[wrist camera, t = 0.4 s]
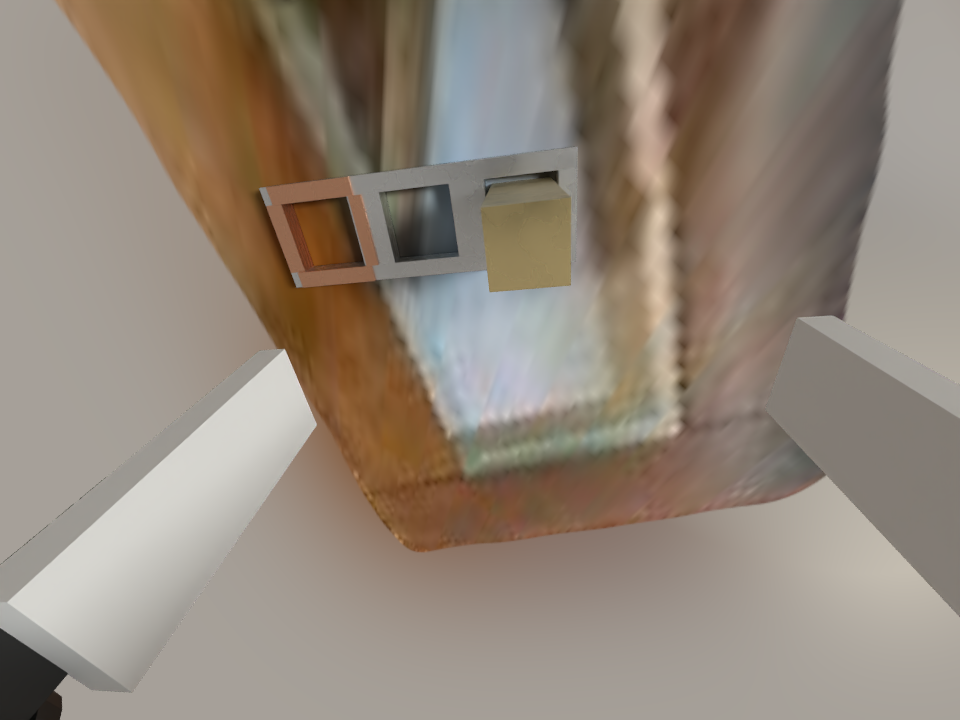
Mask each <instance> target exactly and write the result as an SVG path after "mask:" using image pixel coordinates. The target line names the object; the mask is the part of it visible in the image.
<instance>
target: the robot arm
mask: <svg viewBox="0 0 960 720" xmlns="http://www.w3.org/2000/svg"><path fill="white" fill-rule="evenodd" d="M765 410H766V411H767V412H768V413H769V414H770V416H771V417H772V418H773V419H774V420H775V421H776V422H777V423H778V424H779V425H780V426H781V427H782V428H783V429H784V430H785V431H786V433H787V434H788V435H789V436H790V437H791V438H792V439H793V440H794V441H795V442H796V443H797V444H798V445H799V446H800V447H801V449H802V450H803V451H804V452H805V453H806V454H807V455H808V456H809V457H810V458H811V459H812V460H813V461H814V462H815V463H816V464H817V466H818V467H819V468H820V469H821V470H822V471H823V472H824V473H825V474H826V475H827V476H828V477H829V478H830V479H831V480H832V481H833V483H834V484H835V485H836V486H838V488H839V489H840V490H841V491H842V492H843V493H844V494H845V495H846V496H847V497H848V498H849V499H850V501H851V502H852V503H853V504H854V505H855V506H856V507H857V508H858V509H859V510H860V511H861V512H862V513H863V514H864V515H865V517H866V518H867V519H868V520H869V521H870V522H871V523H872V524H873V525H874V526H875V527H876V528H877V529H878V530H879V531H880V533H881V534H882V535H883V536H884V537H885V538H886V539H887V540H888V541H889V542H890V543H891V544H892V545H893V546H894V547H895V548H896V550H898V552H900V553H901V555H902V556H903V557H904V558H905V559H906V560H907V561H908V562H909V563H910V564H911V566H912V567H913V568H914V569H915V570H916V571H917V572H918V573H919V574H920V575H921V576H922V577H923V578H924V579H925V580H926V582H927V583H928V584H929V585H930V586H931V587H932V588H933V589H934V590H935V591H936V592H937V593H938V594H939V595H940V596H941V597H942V598H943V600H944V601H945V602H946V603H947V604H948V605H949V606H950V607H951V608H952V609H953V610H954V611H955V612H956V613H957V614H958V615H959V617H960V385H959V384H957V383H955V382H954V381H952V380H950V379H948V378H946V377H945V376H943V375H941V374H939V373H937V372H935V371H934V370H931V369H930V368H928V367H926V366H924V365H923V364H921V363H919V362H917V361H915V360H913V359H912V358H909V357H908V356H906V355H904V354H902V353H901V352H899V351H897V350H895V349H893V348H891V347H889V346H887V345H886V344H884V343H882V342H880V341H878V340H877V339H875V338H873V337H871V336H869V335H867V334H866V333H864V332H862V331H860V330H858V329H856V328H855V327H853V326H851V325H849V324H847V323H846V322H844V321H842V320H840V319H838V318H836V317H834V316H817V317H801V318H797V320H796V323H795V326H794V328H793V331H792V334H791V337H790V340H789V343H788V345H787V348H786V351H785V354H784V357H783V360H782V363H781V365H780V368H779V371H778V374H777V377H776V380H775V383H774V385H773V388H772V391H771V394H770V397H769V400H768V403H767V405H766V408H765ZM316 425H317V424H316V422H315V420H314V417H313V415H312V413H311V410H310V408H309V405H308V403H307V401H306V398H305V396H304V393H303V391H302V389H301V386H300V384H299V382H298V379H297V377H296V374H295V372H294V370H293V367H292V365H291V363H290V360H289V358H288V355H287V353H286V351H285V349H276V350H260V351H259V352H257V353H256V354H255V355H254V356H252V357H251V358H250V359H249V360H248V361H246V362H245V363H244V364H243V365H241V367H239V368H238V369H237V370H235V371H234V372H233V373H232V374H231V375H229V376H228V377H227V378H226V379H225V380H223V381H222V382H221V383H220V384H219V385H217V386H216V387H215V388H214V389H212V390H211V391H210V392H209V393H208V394H206V395H205V396H204V397H203V398H202V399H200V400H199V401H198V402H197V403H196V404H195V405H193V406H192V407H191V408H189V409H188V410H187V411H186V412H185V413H183V414H182V415H181V416H180V417H179V418H177V419H176V420H175V421H174V422H173V423H171V424H170V425H169V426H168V427H167V428H165V429H164V430H163V431H162V432H160V433H159V434H158V435H157V436H156V437H154V438H153V439H152V440H151V441H150V442H148V443H147V444H146V445H145V446H144V447H142V448H141V449H140V450H139V451H138V452H136V453H135V454H134V455H133V456H131V458H129V459H128V460H127V461H126V462H124V463H123V464H122V465H121V466H119V467H118V468H117V469H116V470H115V471H113V472H112V473H111V474H110V475H109V476H107V477H106V478H104V479H103V480H102V481H101V482H100V483H99V484H97V485H96V486H95V487H93V488H92V489H91V490H90V491H89V492H87V493H86V494H85V495H84V496H83V497H81V498H80V499H79V500H78V501H77V502H76V503H75V504H73V505H72V506H70V507H69V508H68V509H67V510H66V511H64V512H63V513H62V514H61V515H60V516H58V517H57V518H56V520H54V521H53V522H52V523H50V524H49V525H47V526H46V527H45V528H44V529H43V530H42V531H40V532H39V533H38V534H37V535H36V536H34V537H33V538H32V539H31V540H29V541H28V542H27V543H26V544H25V545H23V546H22V547H21V548H20V549H18V550H17V551H16V552H15V553H14V554H12V555H11V556H10V557H9V558H8V559H6V560H5V561H4V562H3V563H2V564H0V720H60V716H61V712H62V697H61V696H60V695H59V694H58V693H56V692H55V691H54V690H55V689H56V687H57V686H58V685H59V684H60V683H61V681H62V680H63V679H64V678H65V677H66V675H67V674H68V675H70V676H71V677H73V678H74V679H76V680H77V681H79V682H80V683H82V684H83V685H85V686H86V687H88V688H89V689H91V690H99V691H115V692H131V693H132V692H133V691H134V689H135V688H136V686H137V685H138V684H139V682H140V681H141V679H142V678H143V676H144V675H145V674H146V672H147V671H148V669H149V668H150V666H151V665H152V663H153V662H154V660H155V659H156V658H157V656H158V655H159V653H160V652H161V650H162V649H163V647H164V646H165V645H166V643H167V641H168V640H169V639H170V637H171V636H172V634H173V633H174V631H175V630H176V628H177V627H178V625H179V624H180V623H181V621H182V620H183V618H184V617H185V616H186V614H187V613H188V611H189V610H190V608H191V607H192V605H193V604H194V602H195V601H196V600H197V598H198V596H199V595H200V594H201V592H202V591H203V589H204V588H205V586H206V585H207V584H208V582H209V581H210V579H211V578H212V576H213V575H214V573H215V572H216V571H217V569H218V568H219V566H220V565H221V563H222V562H223V560H224V559H225V558H226V556H227V555H228V553H229V552H230V550H231V549H232V547H233V546H234V544H235V543H236V541H237V540H238V539H239V537H240V536H241V534H242V533H243V531H244V530H245V529H246V527H247V526H248V524H249V523H250V521H251V520H252V518H253V517H254V515H255V514H256V513H257V511H258V509H259V508H260V507H261V505H262V504H263V502H264V501H265V499H266V498H267V497H268V495H269V494H270V492H271V491H272V489H273V488H274V486H275V485H276V484H277V482H278V481H279V479H280V478H281V476H282V475H283V473H284V472H285V470H286V469H287V468H288V466H289V465H290V463H291V462H292V460H293V459H294V457H295V456H296V455H297V453H298V452H299V450H300V449H301V447H302V446H303V444H304V443H305V442H306V440H307V439H308V437H309V436H310V434H311V433H312V431H313V430H314V428H315V427H316Z"/></svg>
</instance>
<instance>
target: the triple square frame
mask: <svg viewBox="0 0 960 720" xmlns="http://www.w3.org/2000/svg"><path fill="white" fill-rule="evenodd" d="M577 152H578V147H575V146H574V147H566V148H559V149H551V150H543V151H536V152H528V153H520V154H513V155H505V156H497V157H489V158H482V159H474V160H466V161H459V162H451V163H443V164H436V165H428V166H420V167H413V168H405V169H397V170H390V171H382V172H374V173H367V174H359V175H351V176H344V177H336V178H328V179H321V180H313V181H305V182H297V183H290V184H282V185H274V186H268V187H263V188H259V189H260V192H261V195H262V197H263V200H264V203H265V205H266V208H267V210H268V213H269V216H270V218H271V221H272V224H273V226H274V229H275V232H276V234H277V237H278V240H279V242H280V245H281V247H282V250H283V253H284V255H285V258H286V261H287V263H288V266H289V269H290V271H291V274H292V277H293V279H294V282H295V284H296V287H303V288H304V287H314V286H325V285H336V284H347V283H358V282H369V281H376V280H383V279H394V278H404V277H415V276H426V275H437V274H448V273H458V272H469V271H480V270H487V263H486V254H485V245H484V236H483V226H482V217H481V206H482V204H483V202H484V199H485V197H486V195H487V194H486V184H485V179H490V178H498V177H507V176H515V175H523V174H531V173H539V172H547V171H555V170H556V182H557V184H558V185H559V186H560V187H561V188H562V189H563V190H564V191H565V192H566V193H567V194H568V195H569V196H570V197H571V262H576V227H577ZM442 184H449V190H450V197H451V204H452V211H453V218H454V225H455V232H456V238H457V245H458V252H452V253H442V254H432V255H422V256H412V257H401V258H400V255H399V250H398V246H397V241H396V237H395V232H394V228H393V224H392V219H391V215H390V210H389V206H388V201H387V197H386V192H385V191H393V190H401V189H409V188H417V187H425V186H433V185H442ZM338 197H347V201H348V204H349V208H350V212H351V215H352V219H353V223H354V226H355V230H356V234H357V237H358V241H359V245H360V248H361V252H362V256H363V259H364V261H361V262H351V263H341V264H331V265H321V266H314V265H313V262H312V259H311V256H310V254H309V251H308V248H307V245H306V242H305V239H304V236H303V233H302V230H301V227H300V225H299V222H298V219H297V216H296V213H295V210H294V207H293V204H292V203H297V202H305V201H313V200H321V199H330V198H338Z"/></svg>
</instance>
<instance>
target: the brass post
mask: <svg viewBox="0 0 960 720" xmlns="http://www.w3.org/2000/svg"><path fill="white" fill-rule="evenodd" d="M481 217H482V226H483V236H484V245H485V254H486V263H487V273H488V282H489V291H490V292H498V291H510V290H522V289H534V288H546V287H557V286H569V285H571V197H570V196H569V195H568V194H567V193H566V192H565V191H564V190H563V189H562V188H561V187H560V186H559V185H558V184H557V183H556V182H555V181H554V180H552V179H551V178H550V177H544V178H536V179H528V180H519V181H511V182H503V183H495V184H492V185H491V187H490V189H489V191H488V193H487V195H486V197H485V199H484V202H483V204H482V206H481Z"/></svg>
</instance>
